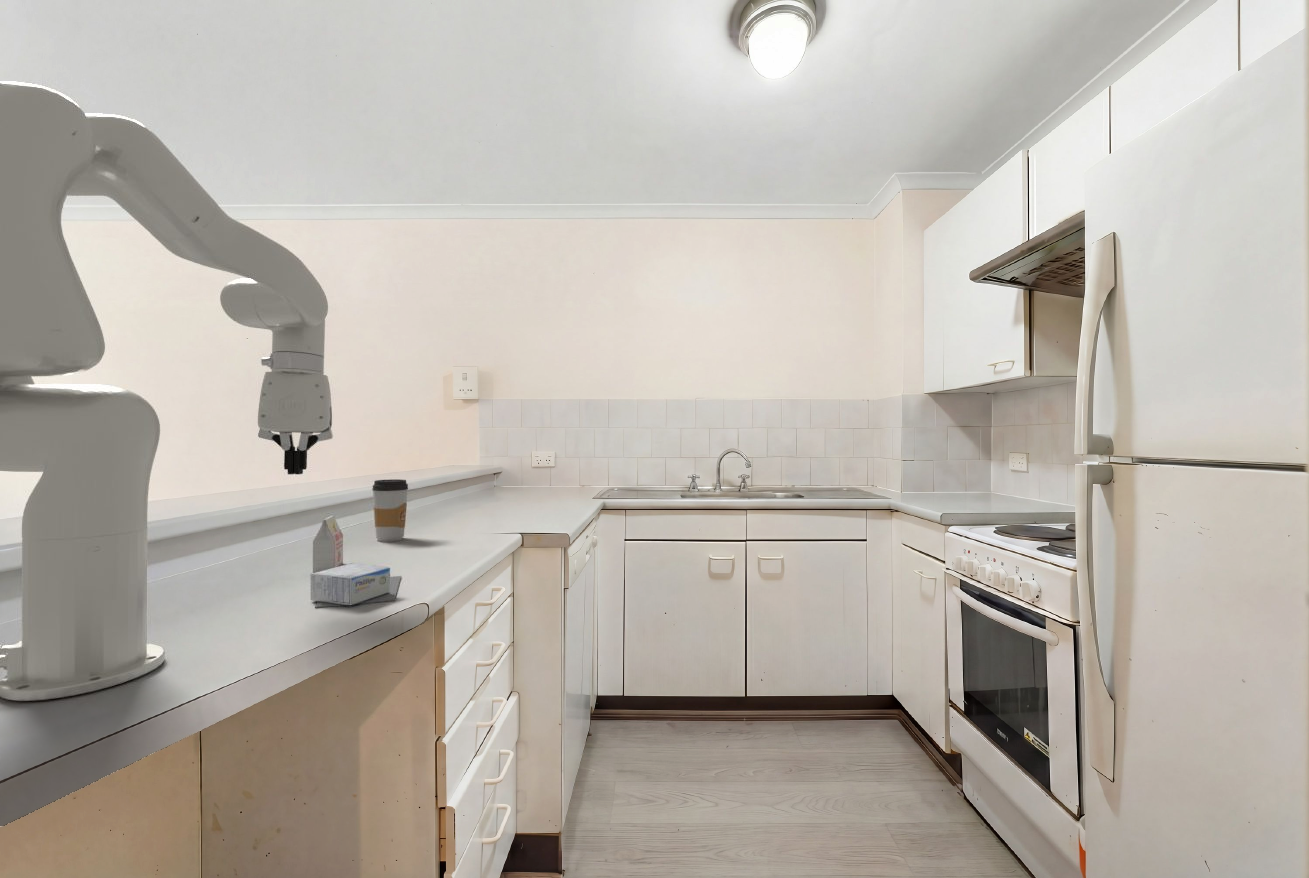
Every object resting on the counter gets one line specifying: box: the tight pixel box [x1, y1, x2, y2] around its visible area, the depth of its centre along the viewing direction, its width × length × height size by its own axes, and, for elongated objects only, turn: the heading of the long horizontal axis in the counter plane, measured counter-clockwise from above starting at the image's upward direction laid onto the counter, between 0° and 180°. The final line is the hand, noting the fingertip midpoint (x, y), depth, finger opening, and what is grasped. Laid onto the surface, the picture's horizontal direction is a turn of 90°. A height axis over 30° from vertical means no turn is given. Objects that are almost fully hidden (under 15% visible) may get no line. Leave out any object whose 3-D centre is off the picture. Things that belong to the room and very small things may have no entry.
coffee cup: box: [371, 478, 409, 543], centre depth 141 cm, size 8×8×15 cm
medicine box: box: [310, 562, 391, 606], centre depth 90 cm, size 8×4×9 cm
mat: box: [314, 575, 402, 609], centre depth 94 cm, size 11×16×1 cm
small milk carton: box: [312, 514, 344, 573], centre depth 110 cm, size 4×7×10 cm, turn 17°
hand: (295, 473), depth 94 cm, fingers closed
